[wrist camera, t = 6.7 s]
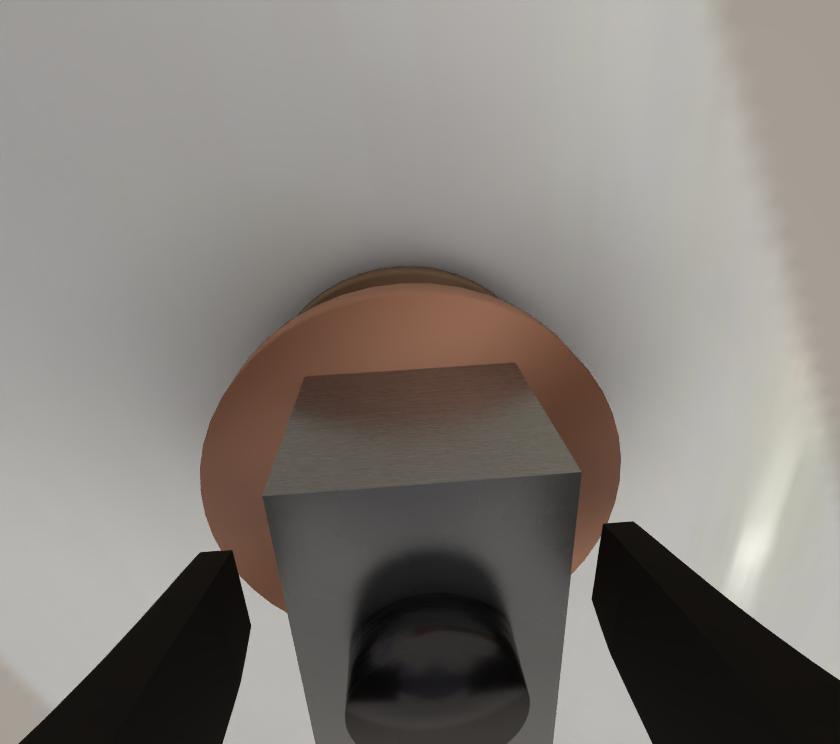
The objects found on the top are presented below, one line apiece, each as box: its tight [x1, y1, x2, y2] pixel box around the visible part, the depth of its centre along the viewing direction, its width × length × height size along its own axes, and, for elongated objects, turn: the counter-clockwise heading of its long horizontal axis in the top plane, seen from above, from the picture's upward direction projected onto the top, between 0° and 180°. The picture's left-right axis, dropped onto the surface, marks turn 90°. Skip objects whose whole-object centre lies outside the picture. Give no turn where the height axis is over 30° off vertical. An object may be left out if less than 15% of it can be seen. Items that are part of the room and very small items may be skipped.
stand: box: [200, 267, 621, 612], centre depth 14 cm, size 10×10×5 cm
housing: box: [262, 363, 582, 744], centre depth 10 cm, size 4×7×5 cm, turn 2°
